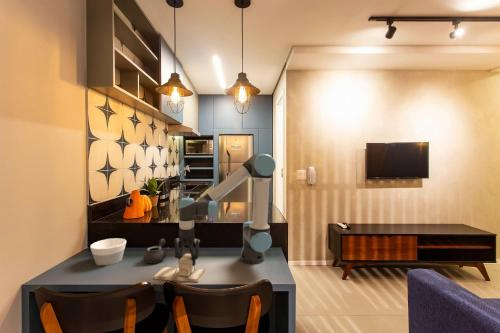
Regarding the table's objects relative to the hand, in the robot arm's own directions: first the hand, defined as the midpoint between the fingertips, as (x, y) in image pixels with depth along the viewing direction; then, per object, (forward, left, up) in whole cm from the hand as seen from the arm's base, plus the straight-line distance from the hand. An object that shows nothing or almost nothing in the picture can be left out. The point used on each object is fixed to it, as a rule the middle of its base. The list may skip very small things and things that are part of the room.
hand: (187, 271), depth 135 cm
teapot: (+27, -20, -3) cm, 33 cm away
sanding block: (0, 0, -1) cm, 1 cm away
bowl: (+55, -13, -3) cm, 56 cm away
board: (+4, 0, -3) cm, 5 cm away
